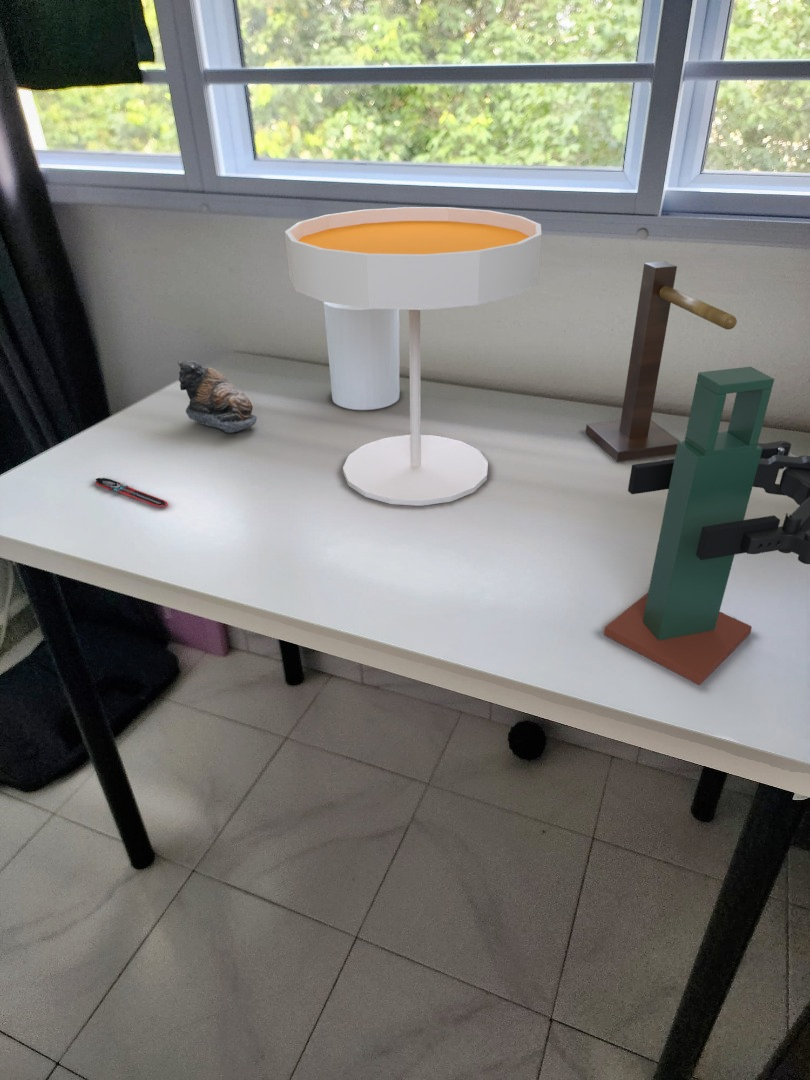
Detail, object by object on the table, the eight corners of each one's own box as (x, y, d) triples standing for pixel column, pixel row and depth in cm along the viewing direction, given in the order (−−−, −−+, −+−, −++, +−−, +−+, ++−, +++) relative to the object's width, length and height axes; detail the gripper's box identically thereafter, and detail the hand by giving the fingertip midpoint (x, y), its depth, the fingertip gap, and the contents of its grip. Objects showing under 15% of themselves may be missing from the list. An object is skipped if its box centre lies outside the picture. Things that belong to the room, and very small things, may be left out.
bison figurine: (265, 424, 117) (257, 362, 111) (239, 442, 111) (229, 378, 106) (203, 413, 121) (192, 352, 116) (174, 430, 116) (162, 367, 110)
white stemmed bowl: (568, 491, 97) (598, 236, 80) (358, 548, 86) (342, 268, 70) (456, 412, 120) (461, 200, 103) (279, 450, 109) (252, 220, 92)
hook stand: (730, 490, 97) (778, 293, 83) (660, 501, 95) (698, 300, 81) (645, 425, 114) (674, 253, 101) (585, 432, 112) (606, 258, 99)
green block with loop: (714, 630, 72) (781, 378, 58) (658, 641, 70) (713, 386, 57) (697, 611, 74) (757, 365, 61) (642, 621, 73) (691, 372, 59)
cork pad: (750, 634, 73) (752, 626, 72) (699, 685, 67) (701, 677, 66) (657, 591, 79) (658, 583, 78) (603, 634, 73) (604, 626, 72)
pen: (161, 511, 95) (160, 507, 94) (90, 484, 101) (89, 479, 101) (173, 504, 96) (172, 500, 96) (102, 478, 102) (101, 474, 102)
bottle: (396, 411, 120) (392, 248, 107) (323, 409, 122) (311, 247, 108) (405, 385, 130) (402, 232, 117) (338, 383, 132) (328, 231, 118)
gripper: (975, 580, 61) (736, 626, 57) (787, 459, 80) (597, 486, 75) (1014, 500, 57) (760, 542, 53) (806, 392, 76) (607, 416, 71)
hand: (664, 509), depth 64 cm, fingers open, 10 cm apart
